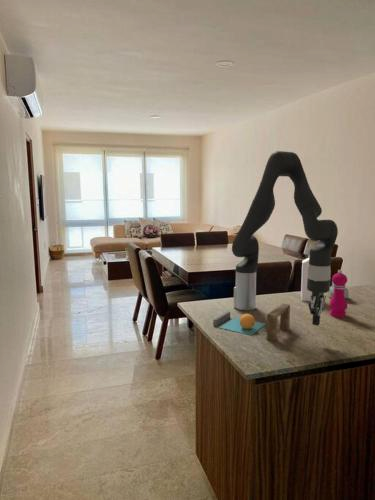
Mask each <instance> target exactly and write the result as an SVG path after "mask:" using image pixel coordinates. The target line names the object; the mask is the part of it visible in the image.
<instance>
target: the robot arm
mask: <svg viewBox="0 0 375 500" xmlns="http://www.w3.org/2000/svg"><path fill="white" fill-rule="evenodd" d="M279 177H288V178H289V179H290V180H291V181H292V183H293V187H294V191H293V201H294V204H295V206H296V208H297V210H298V212H299V214H300V216H301V217H302V222H303V223H302V224H303V228H304V233H305V235H306V237H307V238H308V239H309V240H311V241H313V242H318V244H317V245H316V246H313V247H312V248H310V250H309V254H308V258H309V267H308V277H307V289H308V290H309V291H311V292H312V296H311V297H310V300H311V301H310V302H309V303H308V308H309V312H310V315H312V321H311V322H312V323H311V324H312V325H314V326H319V325H320V324H321V315H322V312H323V311H324V306H325V301H326V298H327V297H326V295H325V293H326V294H327V293H328V292H329V290H330V287H331V272H332V271H331V263H332V262H331V259H332V252H333V250H334V248H335V243H336V241H337V238H338V234H339V232H338V231H339V230H338V226H337V223H336V222H335V221H334V220H332V219H318V218H319V217H320V216H321V214H322V212H323V209H322V206H321V205H320V204H319V201H318V200H317V198H316V196H315V195H314V193H313V191H312V189H311V186H310V184H309V182H308V179H307V175H306V172H305V170H304V168H303V163H302V161H301V159H300V157H299V156H298V154H297V153H295V152H293V151H284V150H283V151H282V150H276V151H273V152H272V153H271V154H270V156H269V158H268V159H267V162H266V165H265V167H264V170H263V174H262V177H261V180H260V183H259V186H258V188H257V191H256V194H255V195H254V197H253V199H252V201H251V204H250V207H249V209H248V211H247V214H246V216H245V219H244V221H243V223H242V225H241V226H240V228H239V230H238V231H237V234H235V235H236V236H235V237H234V239H233V241H232V244H231V245H232V246H231V251H232V254H233V256H235V258H236V257H237V258H243V259H242V261H240V262H238V263H237V264H236V265H235V286H234V287H233V308H236V309H237V310H239V311H253V310H255V309H256V305H257V303H256V300H257V298H256V297H257V267H258V265H259V252H260V246H259V240H258V238H257V237H256V236H254V234H255V233H256V232H258V230H260V229H261V228H262V227H263V226H264V225H266V224H267V222H268V221H269V219H270V217H271V216H272V214H273V211H274V209H275V206H276V199H275V193H274V188H275V184H276V182H277V180H278V178H279Z"/></svg>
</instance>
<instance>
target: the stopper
mask: <svg viewBox="0 0 375 500" xmlns="http://www.w3.org/2000/svg"><path fill="white" fill-rule="evenodd" d="M230 318H231V312H230V311H227V312H225V313H223V314H221V315H219V316H217V317H215V318H214V319H213V320H212V321H213V322H212V323H213V325H215V326H214V327H217V326H219V325H221V324H222V323H224V322H226V321H227V320H228V319H230ZM225 320H226V321H225ZM223 321H224V322H223ZM220 323H221V324H220ZM218 324H219V325H218ZM216 325H217V326H216Z"/></svg>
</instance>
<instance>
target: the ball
mask: <svg viewBox="0 0 375 500" xmlns="http://www.w3.org/2000/svg"><path fill="white" fill-rule="evenodd" d="M239 318H240V325H241V327H242V328H244V329H251V328H252V327H253V326H254V325H255V322H256V320H255V317H254V316H253V315H252V314H250V313H244V314H242V315H241V316H240V317H239Z"/></svg>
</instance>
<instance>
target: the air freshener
mask: <svg viewBox="0 0 375 500" xmlns="http://www.w3.org/2000/svg"><path fill="white" fill-rule="evenodd" d="M333 284H334V283H333V281H332V280H331V285H330V290H329V292H327V294H328V297H329V298H330V299H331V298H332V296H333V294H334V288H333ZM349 295H350V294H349V289H348V288H347V287H346V288H345V289H344V296H345V299H348V298H349Z"/></svg>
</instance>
